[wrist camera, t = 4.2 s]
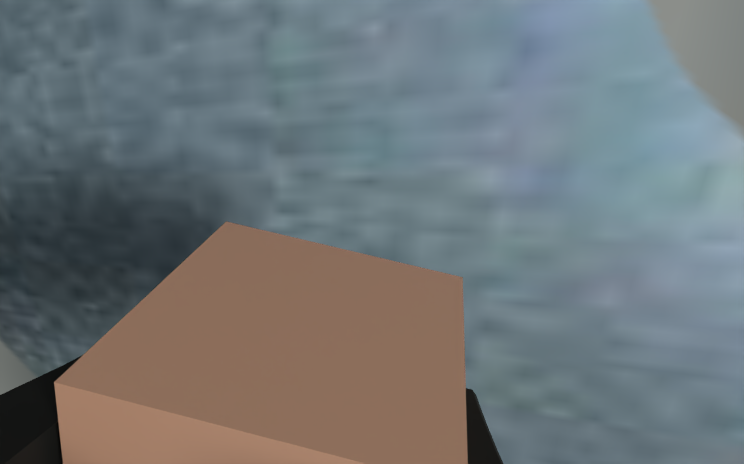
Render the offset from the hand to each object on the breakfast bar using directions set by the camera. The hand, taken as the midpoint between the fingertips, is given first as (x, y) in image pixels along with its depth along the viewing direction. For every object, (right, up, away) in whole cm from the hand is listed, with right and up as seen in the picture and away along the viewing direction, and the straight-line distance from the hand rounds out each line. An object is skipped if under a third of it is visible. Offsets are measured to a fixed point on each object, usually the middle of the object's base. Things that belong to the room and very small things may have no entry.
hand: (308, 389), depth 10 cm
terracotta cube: (0, +1, +1) cm, 1 cm away
